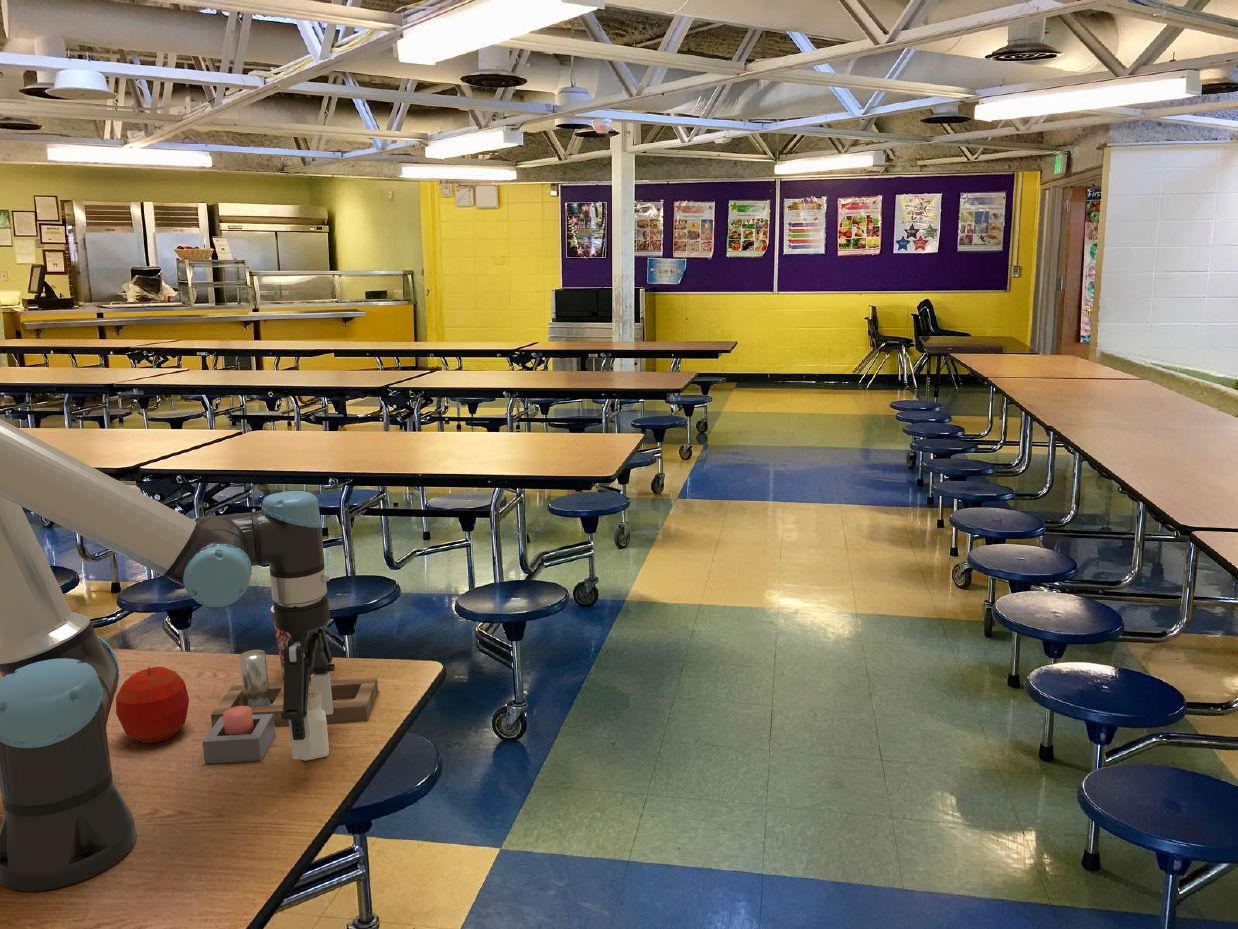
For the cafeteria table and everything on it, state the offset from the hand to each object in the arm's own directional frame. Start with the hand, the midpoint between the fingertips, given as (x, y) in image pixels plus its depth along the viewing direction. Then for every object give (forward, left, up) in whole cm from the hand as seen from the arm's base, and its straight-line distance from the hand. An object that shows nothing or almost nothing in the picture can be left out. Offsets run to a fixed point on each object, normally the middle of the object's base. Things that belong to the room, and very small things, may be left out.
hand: (314, 734), depth 140 cm
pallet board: (+15, +6, -3) cm, 17 cm away
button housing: (+3, +12, -3) cm, 12 cm away
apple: (+9, +26, -3) cm, 28 cm away
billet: (+15, +13, -3) cm, 20 cm away
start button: (+3, +12, -2) cm, 12 cm away
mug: (+27, +7, -3) cm, 28 cm away
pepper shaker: (0, 0, -3) cm, 3 cm away
